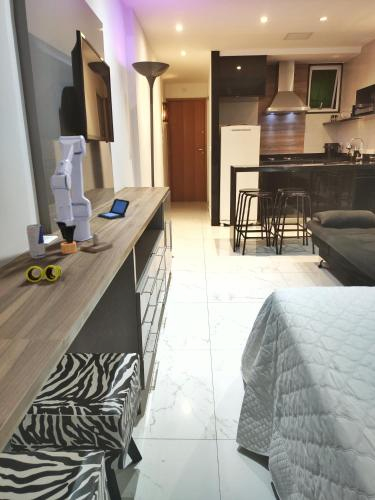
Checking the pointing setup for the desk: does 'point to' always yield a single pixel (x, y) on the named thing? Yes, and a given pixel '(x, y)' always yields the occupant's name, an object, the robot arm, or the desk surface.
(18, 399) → the desk surface
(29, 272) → the opera glasses
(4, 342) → the desk surface
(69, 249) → the ring
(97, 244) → the post stand
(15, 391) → the desk surface
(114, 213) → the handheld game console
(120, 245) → the desk surface
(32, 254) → the energy drink
